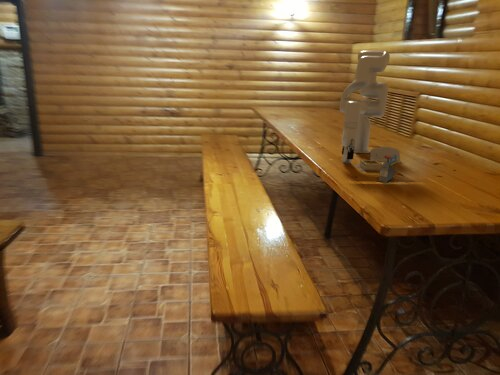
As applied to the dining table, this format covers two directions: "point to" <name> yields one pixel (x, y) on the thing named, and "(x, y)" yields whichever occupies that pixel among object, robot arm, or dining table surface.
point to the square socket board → (373, 164)
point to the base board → (364, 170)
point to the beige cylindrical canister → (345, 160)
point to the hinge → (382, 151)
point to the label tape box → (387, 170)
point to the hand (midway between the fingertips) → (347, 156)
